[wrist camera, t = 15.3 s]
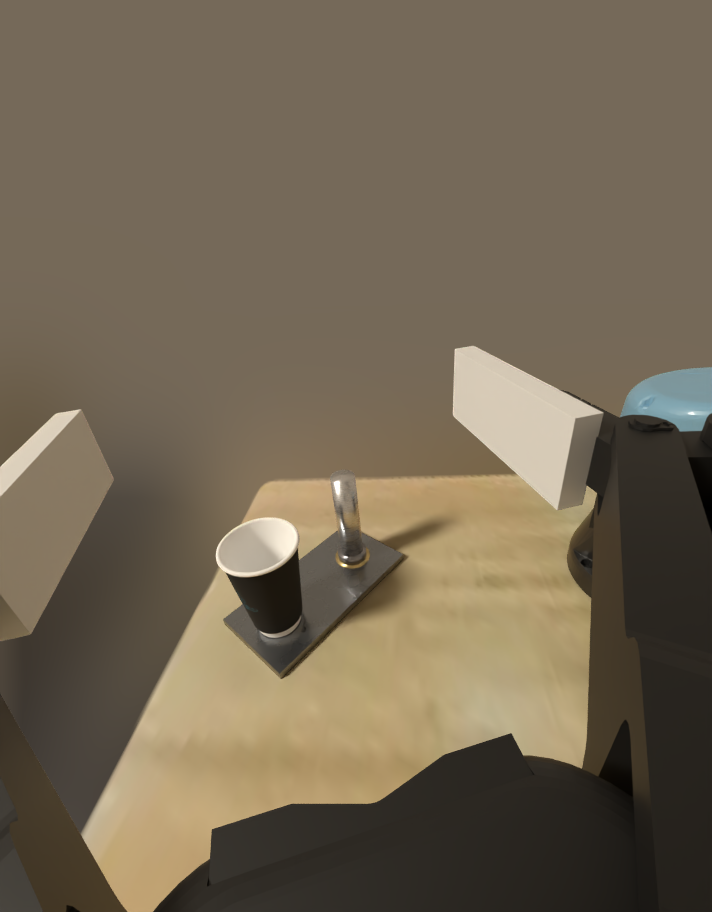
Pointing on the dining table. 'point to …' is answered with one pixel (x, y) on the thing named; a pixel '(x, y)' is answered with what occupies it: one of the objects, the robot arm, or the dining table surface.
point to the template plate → (318, 600)
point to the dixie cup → (265, 572)
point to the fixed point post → (347, 518)
